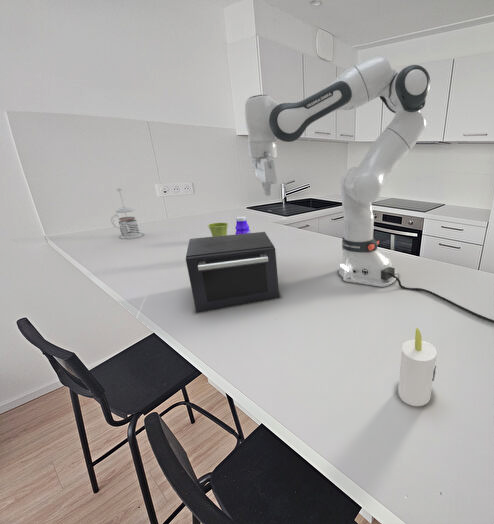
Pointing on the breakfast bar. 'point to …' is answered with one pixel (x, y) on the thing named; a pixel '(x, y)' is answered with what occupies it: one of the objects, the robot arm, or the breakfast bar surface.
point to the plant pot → (218, 229)
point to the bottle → (241, 225)
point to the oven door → (233, 278)
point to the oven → (228, 243)
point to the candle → (417, 371)
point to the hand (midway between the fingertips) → (267, 195)
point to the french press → (127, 223)
